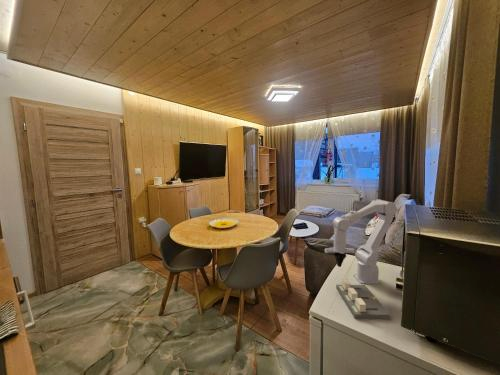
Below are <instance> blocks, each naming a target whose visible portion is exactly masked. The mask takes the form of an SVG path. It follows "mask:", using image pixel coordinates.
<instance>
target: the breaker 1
mask: <svg viewBox="0 0 500 375" xmlns="http://www.w3.org/2000/svg"><path fill="white" fill-rule="evenodd" d="M341 285H342V286H343V288H344V289H345V290H348V288H350V287H351V285H352V284H351V282H350V281H349V280H348V279H346V278H343V279H341Z"/></svg>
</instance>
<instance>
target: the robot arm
mask: <svg viewBox="0 0 500 375" xmlns="http://www.w3.org/2000/svg"><path fill="white" fill-rule="evenodd" d="M397 210H398V209H397V206H396V204H395V202H393V201H387V200H383V199H380V198H379V199H378V198H376V199H374V200H372V201H370V203H368V204H367V205H366V206H364V207H362V208H360V209H359V210H357V211H356V210H349V212H348V213H346V214H344V215H341V216H340V217H339V216H337V217H335V218H334V219H333V220H332V222H331V225H332V226H333V246H332V247H326V248H324V253H325V254H333V255H334V258H335V260H336V266H337V267H338V268H341V267H342V265H343V263H344V260H345V259H346V257H347V253H348V254H349V253H350V254H354V257H355V259H356V262H357V270H356V272H357V273H354V274H353V276H354V277H355V278H356V280H357V281H358V282H359V283H360V284H379V283H380V282H379V272H380V270H379V266H378V265H377V263H378V259H379V255H380V254H379V253H378V248H379V246H380V244H381V242H382V240H383V239H384V237H385V235H386V233H387V232H388V229H389V228H390V226H391V224H392V222H393V220H394V217H395V214H396V213H397ZM373 213H376V215H377V216H378V220H377V222H376V224H375V226H374V227H373V230H372V232H371V234H370V235H369V237H368V238H367V241H366V243H365V244H362V245H359V248H358V249H355V248H353V247H347V231H348V230H349V228H350V227H351V226H352V225H354V224H356V223H359V222H360V221H361V219H362V218H363V217H365V216H367V215H370V214H373Z"/></svg>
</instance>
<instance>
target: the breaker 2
mask: <svg viewBox="0 0 500 375" xmlns="http://www.w3.org/2000/svg"><path fill="white" fill-rule="evenodd" d="M355 306H356V307H357V308H358V310H359V311H360V312H366V304H365V303H364V301H363V300H362V299H361V298H355Z"/></svg>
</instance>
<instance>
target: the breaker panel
mask: <svg viewBox="0 0 500 375" xmlns="http://www.w3.org/2000/svg"><path fill="white" fill-rule="evenodd" d="M335 288H336V291H337V292H338V294H339V295H340V297H341V299H342V300H343V302H344V304H345V306H346V307H347V309H348V310H349V313H351V315H352V316H353V318H354V320H364V319H365V320H391V314H390V313H389V311H388V310H387V309H386V307H385V306H383V304H382V303H381V302H380V301H379V299H377V297H376V296H375V295H374V293H373V292H372V291H371V290H370V289H369V288H368V286H366V284H351V287H350V288H354V289H355V291H356V292H357V293H358V296H357V298H361V299H362V300H363V301H364V303H365V304H366V312H360V311H359V310H358V308H357V307H356V306H355V300H351V298H350V297H349V295H348V290H345V289H344V288H343V286H342V284H336V286H335Z"/></svg>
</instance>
